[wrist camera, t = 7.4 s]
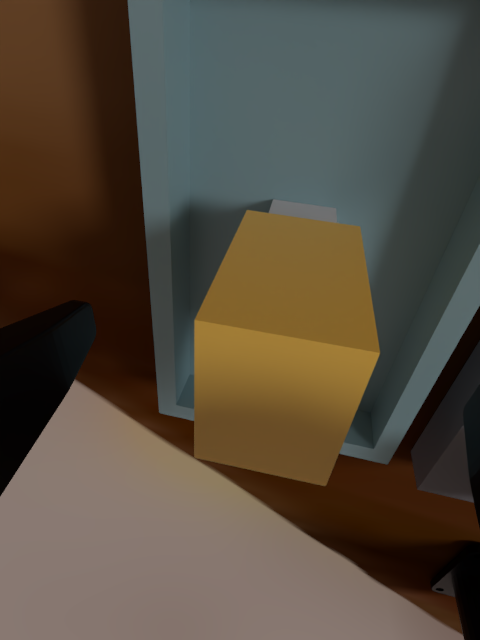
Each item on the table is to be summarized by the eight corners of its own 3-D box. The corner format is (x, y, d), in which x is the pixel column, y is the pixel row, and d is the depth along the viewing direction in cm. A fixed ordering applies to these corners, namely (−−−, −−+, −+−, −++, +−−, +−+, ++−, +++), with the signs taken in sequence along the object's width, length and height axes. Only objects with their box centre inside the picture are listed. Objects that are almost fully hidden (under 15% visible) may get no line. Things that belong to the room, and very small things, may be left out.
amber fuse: (327, 304, 14) (325, 486, 8) (247, 290, 14) (194, 457, 9) (355, 197, 12) (379, 353, 6) (259, 184, 12) (195, 320, 6)
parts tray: (382, 417, 18) (387, 464, 16) (177, 373, 19) (159, 412, 17) (619, -63, 8) (710, -95, 6) (165, -94, 9) (117, -131, 7)
